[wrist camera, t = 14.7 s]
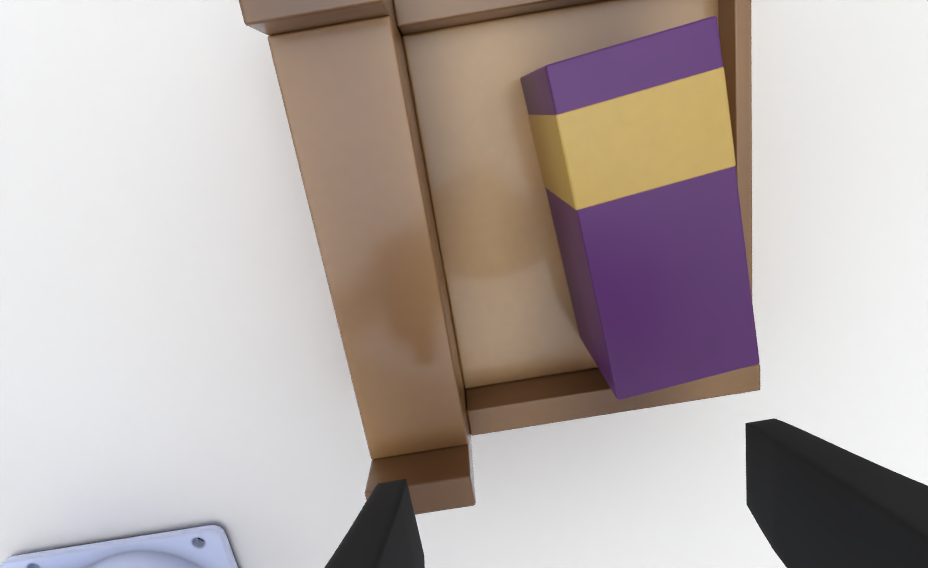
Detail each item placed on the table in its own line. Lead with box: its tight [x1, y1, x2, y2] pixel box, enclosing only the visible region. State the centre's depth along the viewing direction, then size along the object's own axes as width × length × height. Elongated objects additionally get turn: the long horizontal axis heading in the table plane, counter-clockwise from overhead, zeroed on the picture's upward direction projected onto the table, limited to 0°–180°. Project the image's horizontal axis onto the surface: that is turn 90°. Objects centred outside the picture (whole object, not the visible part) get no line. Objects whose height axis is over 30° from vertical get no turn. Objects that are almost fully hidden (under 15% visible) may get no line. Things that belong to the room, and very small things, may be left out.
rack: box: [239, 0, 760, 514], centre depth 16 cm, size 13×14×6 cm
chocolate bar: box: [520, 16, 759, 400], centre depth 16 cm, size 4×9×5 cm, turn 16°
